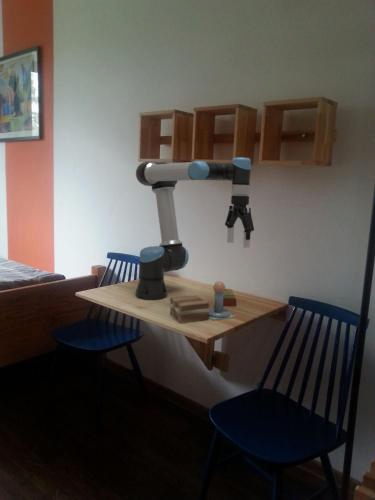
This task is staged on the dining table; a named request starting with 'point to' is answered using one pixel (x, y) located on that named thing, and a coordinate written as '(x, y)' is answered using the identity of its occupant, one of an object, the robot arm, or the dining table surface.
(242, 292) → the dining table surface
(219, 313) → the arcade joystick
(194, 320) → the box
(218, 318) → the mat
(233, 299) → the carton
